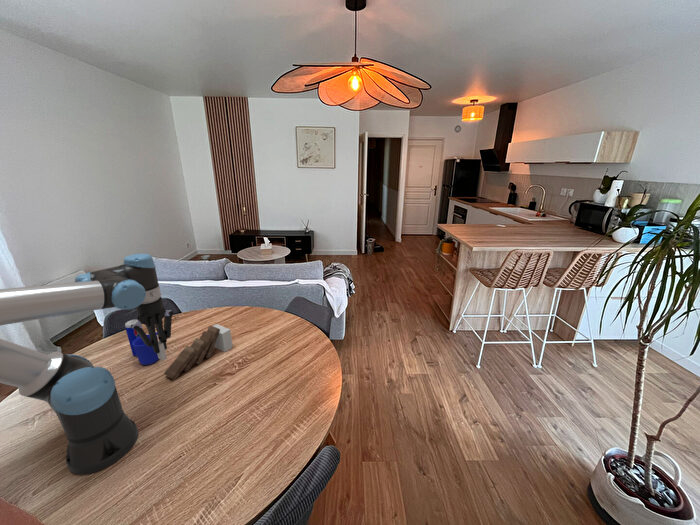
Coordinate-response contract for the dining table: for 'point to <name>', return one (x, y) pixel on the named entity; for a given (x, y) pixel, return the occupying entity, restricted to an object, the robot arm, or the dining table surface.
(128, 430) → the robot arm
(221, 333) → the block
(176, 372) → the domino
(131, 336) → the beverage can
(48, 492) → the dining table surface
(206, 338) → the domino
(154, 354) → the mug
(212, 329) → the domino
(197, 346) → the domino
